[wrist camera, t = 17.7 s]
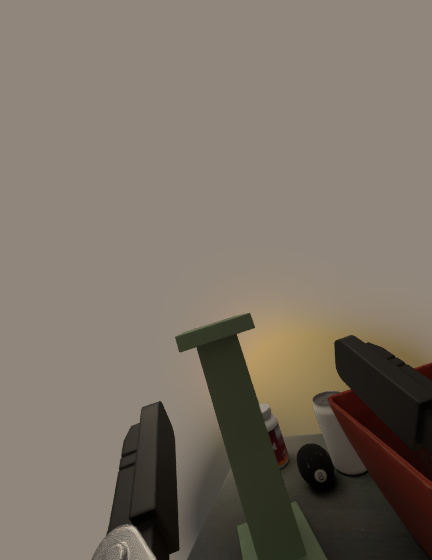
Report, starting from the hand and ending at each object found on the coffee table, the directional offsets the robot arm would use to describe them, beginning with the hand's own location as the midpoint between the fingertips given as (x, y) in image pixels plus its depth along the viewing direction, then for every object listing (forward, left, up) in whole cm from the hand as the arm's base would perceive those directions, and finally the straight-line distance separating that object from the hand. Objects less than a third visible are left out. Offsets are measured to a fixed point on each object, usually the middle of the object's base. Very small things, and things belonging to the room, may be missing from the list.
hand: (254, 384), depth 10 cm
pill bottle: (-39, -21, -30) cm, 54 cm away
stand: (-21, -15, -29) cm, 39 cm away
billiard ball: (-34, -11, -30) cm, 47 cm away
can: (-39, -6, -30) cm, 50 cm away
